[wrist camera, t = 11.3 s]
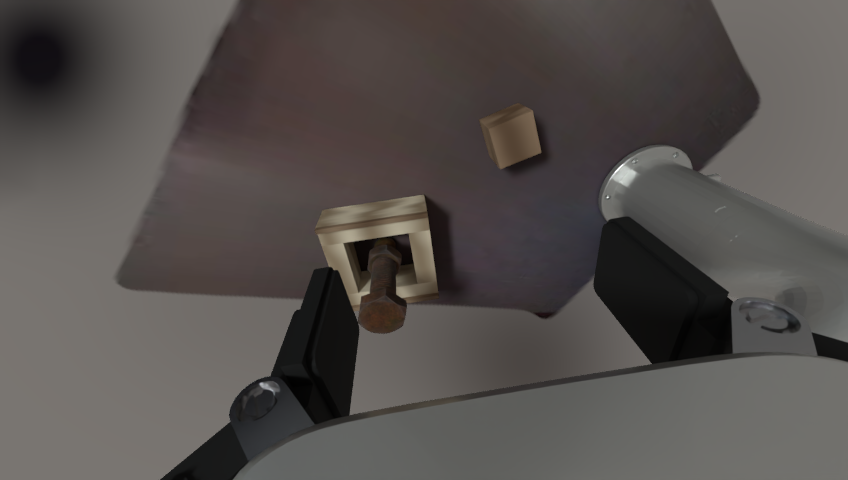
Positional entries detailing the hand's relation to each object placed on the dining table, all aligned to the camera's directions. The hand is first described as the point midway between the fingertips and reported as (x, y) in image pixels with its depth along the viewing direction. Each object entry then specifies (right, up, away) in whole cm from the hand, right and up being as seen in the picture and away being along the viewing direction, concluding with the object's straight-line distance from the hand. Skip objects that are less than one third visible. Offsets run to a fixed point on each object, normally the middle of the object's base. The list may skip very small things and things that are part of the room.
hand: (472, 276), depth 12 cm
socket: (-8, +1, +37) cm, 38 cm away
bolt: (-7, +1, +37) cm, 38 cm away
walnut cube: (+8, +15, +30) cm, 34 cm away
